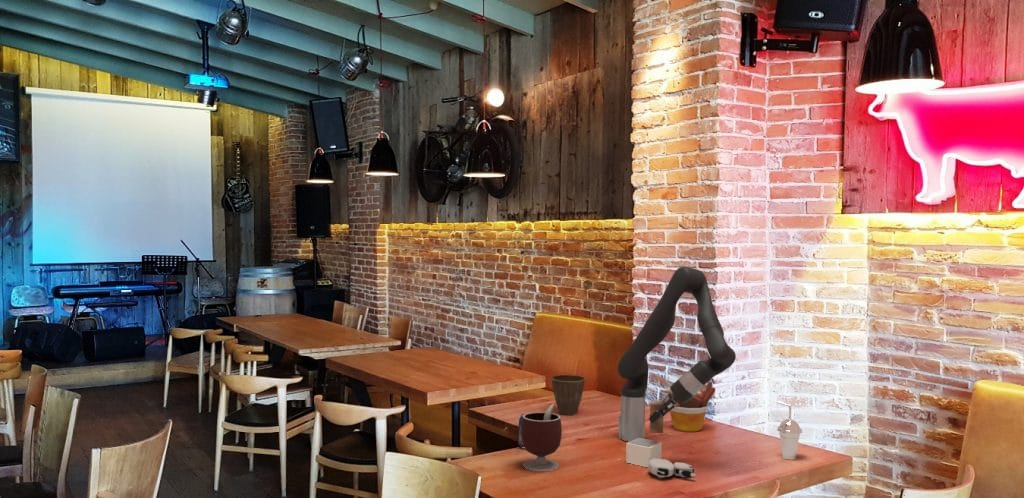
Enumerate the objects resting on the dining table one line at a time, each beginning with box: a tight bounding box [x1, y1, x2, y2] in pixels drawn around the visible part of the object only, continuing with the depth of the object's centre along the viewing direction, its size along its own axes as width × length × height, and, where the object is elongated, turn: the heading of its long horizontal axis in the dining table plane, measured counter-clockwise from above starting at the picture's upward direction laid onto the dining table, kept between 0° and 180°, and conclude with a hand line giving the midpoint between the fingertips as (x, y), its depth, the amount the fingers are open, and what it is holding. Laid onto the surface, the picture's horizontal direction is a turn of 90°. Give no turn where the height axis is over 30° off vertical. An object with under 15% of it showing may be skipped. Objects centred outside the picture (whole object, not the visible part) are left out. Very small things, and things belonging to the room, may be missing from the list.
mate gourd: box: [521, 403, 563, 472], centre depth 252 cm, size 16×14×20 cm
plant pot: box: [551, 374, 586, 416], centre depth 329 cm, size 15×15×16 cm
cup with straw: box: [775, 400, 803, 460], centre depth 266 cm, size 8×9×20 cm
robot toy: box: [647, 457, 697, 479], centre depth 244 cm, size 12×4×15 cm
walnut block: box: [649, 400, 664, 434], centre depth 256 cm, size 4×4×10 cm
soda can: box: [518, 413, 525, 449], centre depth 275 cm, size 7×7×12 cm
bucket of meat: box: [664, 381, 716, 433], centre depth 305 cm, size 20×16×20 cm
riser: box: [625, 438, 663, 468], centre depth 257 cm, size 9×9×7 cm
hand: (651, 419), depth 257 cm, fingers closed on walnut block, 4 cm apart
